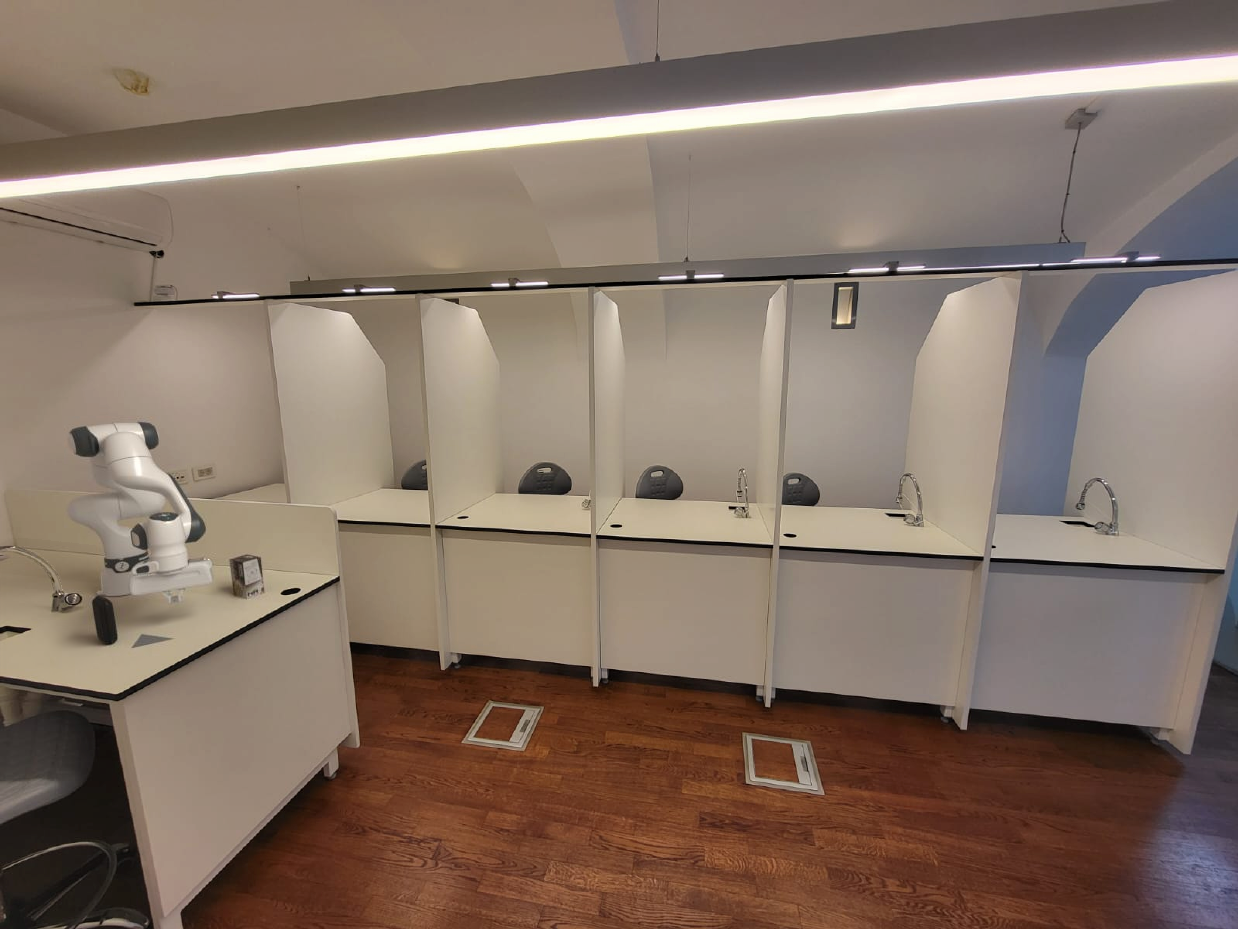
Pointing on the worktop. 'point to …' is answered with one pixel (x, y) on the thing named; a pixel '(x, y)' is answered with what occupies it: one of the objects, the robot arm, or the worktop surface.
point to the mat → (149, 640)
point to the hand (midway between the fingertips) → (175, 601)
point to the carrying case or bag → (104, 620)
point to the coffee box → (247, 576)
